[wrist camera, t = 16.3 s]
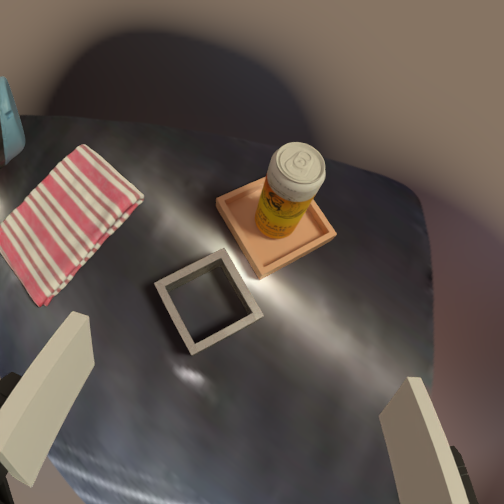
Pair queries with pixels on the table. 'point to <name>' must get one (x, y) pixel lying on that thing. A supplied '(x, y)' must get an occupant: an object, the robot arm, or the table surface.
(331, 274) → the table surface
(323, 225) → the serving tray
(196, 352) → the frame
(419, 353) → the table surface
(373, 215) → the table surface
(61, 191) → the dish towel
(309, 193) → the beer can
